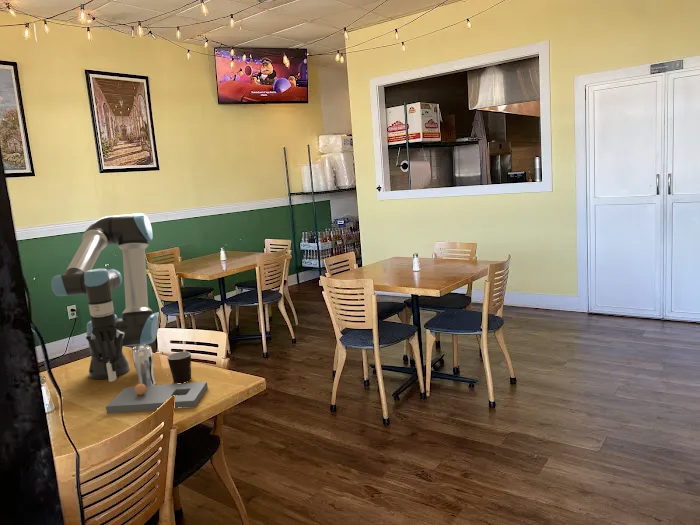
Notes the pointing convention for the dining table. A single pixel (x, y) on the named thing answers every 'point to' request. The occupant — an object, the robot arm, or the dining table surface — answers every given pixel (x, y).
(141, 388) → the ball
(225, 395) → the dining table surface
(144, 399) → the board
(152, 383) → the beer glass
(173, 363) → the coffee mug
